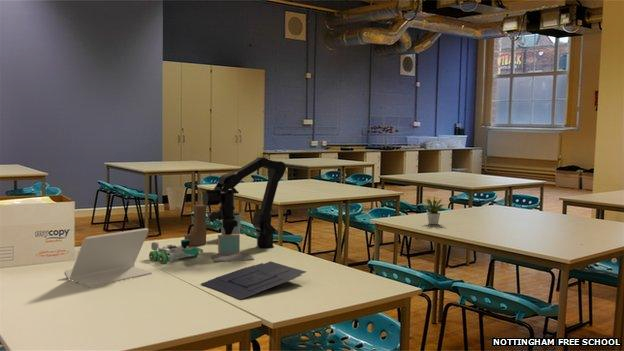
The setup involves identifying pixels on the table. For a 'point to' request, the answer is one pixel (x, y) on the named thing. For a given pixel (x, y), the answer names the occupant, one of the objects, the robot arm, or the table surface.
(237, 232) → the drinking glass
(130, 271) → the tablet stand
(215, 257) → the mat
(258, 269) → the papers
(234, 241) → the tile
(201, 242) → the wooden block
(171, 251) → the robot kit
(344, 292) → the table surface
